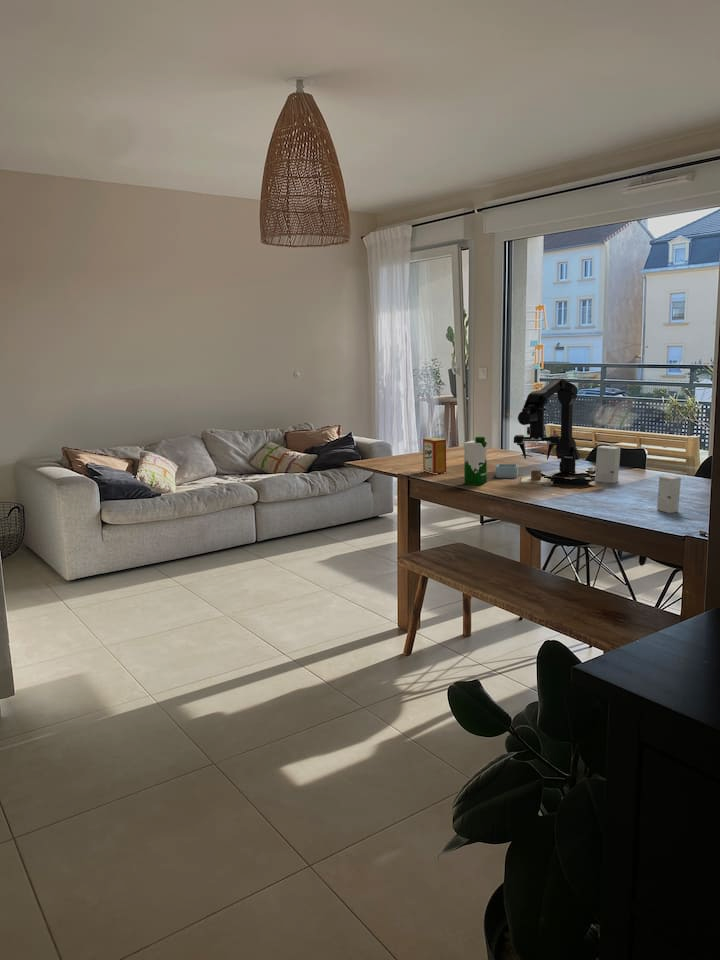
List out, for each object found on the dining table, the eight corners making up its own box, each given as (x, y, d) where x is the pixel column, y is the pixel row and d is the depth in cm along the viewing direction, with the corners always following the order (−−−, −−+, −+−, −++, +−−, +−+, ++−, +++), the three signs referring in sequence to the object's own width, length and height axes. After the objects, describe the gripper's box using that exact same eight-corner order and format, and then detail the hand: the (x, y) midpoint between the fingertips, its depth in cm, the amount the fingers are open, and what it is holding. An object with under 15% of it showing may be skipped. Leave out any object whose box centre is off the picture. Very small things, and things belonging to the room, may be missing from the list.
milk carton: (480, 486, 316) (480, 438, 312) (461, 484, 321) (460, 437, 317) (489, 482, 323) (489, 436, 319) (470, 480, 328) (470, 435, 324)
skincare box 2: (656, 510, 264) (657, 476, 262) (665, 508, 266) (667, 474, 263) (670, 513, 258) (671, 478, 256) (679, 511, 260) (681, 477, 258)
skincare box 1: (594, 481, 317) (595, 446, 315) (600, 479, 322) (601, 445, 319) (614, 483, 312) (615, 448, 309) (619, 481, 316) (620, 446, 314)
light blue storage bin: (518, 475, 338) (518, 464, 337) (516, 478, 329) (516, 467, 328) (497, 474, 340) (497, 463, 339) (496, 478, 332) (496, 467, 331)
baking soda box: (423, 471, 354) (422, 438, 351) (435, 470, 357) (434, 436, 354) (434, 474, 346) (433, 440, 343) (446, 473, 349) (445, 438, 346)
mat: (553, 479, 326) (553, 478, 326) (552, 485, 312) (552, 484, 312) (520, 478, 329) (520, 477, 329) (518, 484, 316) (518, 483, 316)
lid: (550, 478, 325) (551, 467, 324) (550, 483, 313) (550, 472, 313) (522, 478, 328) (522, 467, 327) (520, 483, 317) (520, 472, 316)
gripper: (560, 420, 321) (559, 456, 324) (515, 420, 326) (515, 456, 329) (559, 423, 311) (559, 460, 314) (513, 423, 316) (513, 460, 319)
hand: (536, 459), depth 319 cm, fingers open, 9 cm apart
